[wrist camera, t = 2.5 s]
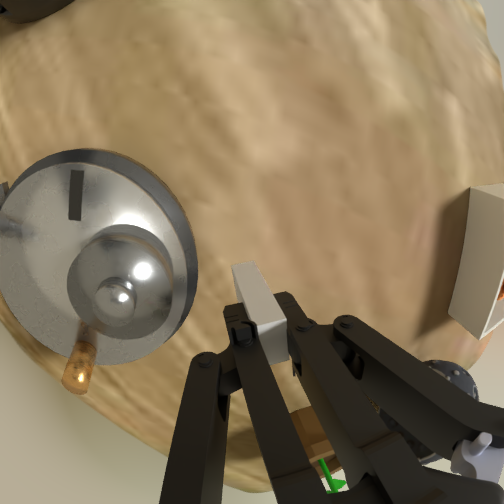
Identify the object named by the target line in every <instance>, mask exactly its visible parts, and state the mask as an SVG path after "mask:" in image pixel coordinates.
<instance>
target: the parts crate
mask: <svg viewBox="0 0 504 504" xmlns="http://www.w3.org/2000/svg"><path fill="white" fill-rule="evenodd" d="M503 279H504V183H500V184H492V185H483V186H475V187H470V198H469V209H468V218H467V225H466V232H465V239H464V245H463V251H462V256H461V261H460V266H459V270H458V275H457V279H456V283H455V288H454V291H453V295H452V299H451V303H450V306H449V310H448V314H449V315H450V316H451V317H452V318H454V319H455V320H456V321H457V322H458V323H460V324H461V325H462V326H463V327H464V328H465V329H466V330H468V331H469V332H470V333H471V334H472V335H473V336H474V337H476V338H477V339H478V340H480V339H482V338H483V337H484V336H485V335H487V334H488V333H489V332H491V331H492V330H493V329H494V328H495V327H497V326H498V325H499V324H500V323H501V322H503V321H504V298H503V299H501V300H497V298H498V295H499V292H500V288H501V285H502V282H503Z"/></svg>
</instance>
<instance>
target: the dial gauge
mask: <svg viewBox="0 0 504 504" xmlns="http://www.w3.org/2000/svg"><path fill="white" fill-rule="evenodd" d="M8 191H9V187H8V183H7V182H5V183H2V184H0V209H1V206H2V203H3V201H4V199H5V197H6V195H7V193H8Z"/></svg>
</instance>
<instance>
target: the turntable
mask: <svg viewBox="0 0 504 504" xmlns="http://www.w3.org/2000/svg"><path fill="white" fill-rule="evenodd" d="M115 224H132V225H136V226H139V227H142V228H144V229H146V230H148V231H150V232H151V233H153V234H154V235H155V236H156V237H158V238H159V239H160V240H161V241H162V243H163V244H164V245H165V247H166V248H167V250H168V252H169V254H170V256H171V259H172V263H173V271H174V274H173V292H172V306H171V310H170V313H169V316H168V317H167V319H166V321H165V322H164V323H163V325H162V326H161V327H160V328H159V329H158V330H156V331H155V332H153V333H152V334H150V335H148V336H145V337H142V338H138V339H131V340H122V339H115V338H111V337H108V336H105V335H103V334H101V333H98V332H97V331H95V330H93V329H92V328H91V327H89V326H88V325H87V324H86V323H85V322H83V321H82V319H81V318H80V317H79V316H78V315H77V313H76V312H75V310H74V308H73V307H72V305H71V302H70V300H69V296H68V292H67V275H68V271H69V268H70V266H71V264H72V262H73V261H74V259H75V258H76V257H77V255H78V254H79V253H80V251H81V250H82V249H83V248H84V247H85V245H86V244H87V243H88V242H89V240H90V239H91V238H92V237H93V236H94V235H95V234H96V233H97V232H99V231H100V230H102V229H103V228H105V227H108V226H111V225H115ZM0 290H1V292H2V295H3V297H4V299H5V301H6V303H7V305H8V306H9V308H10V310H11V311H12V313H13V314H14V316H15V317H16V318H17V320H18V321H19V322H20V324H21V325H22V326H23V327H24V328H25V329H26V330H27V331H28V332H29V333H30V334H31V335H32V336H33V337H34V338H35V339H37V340H38V341H39V342H41V343H42V344H43V345H45V346H46V347H48V348H49V349H51V350H53V351H54V352H56V353H58V354H60V355H63V356H65V357H67V358H69V360H68V363H67V365H66V368H65V371H64V374H63V377H62V380H61V381H62V384H63V386H64V387H65V388H66V389H67V390H68V391H70V392H72V393H74V394H78V395H83V394H85V393H86V392H87V390H88V386H89V382H90V378H91V374H92V370H93V367H94V364H95V365H116V364H123V363H127V362H132V361H134V360H137V359H140V358H142V357H144V356H146V355H148V354H150V353H151V352H153V351H154V350H156V349H157V348H158V347H160V346H161V345H162V344H163V343H164V342H165V341H166V340H167V339H168V338H169V336H170V335H171V334H172V332H173V331H174V330H175V328H176V326H177V324H178V322H179V320H180V318H181V315H182V313H183V310H184V306H185V301H186V296H187V268H186V259H185V254H184V250H183V246H182V243H181V240H180V237H179V235H178V232H177V230H176V228H175V226H174V224H173V222H172V220H171V218H170V217H169V215H168V214H167V213H166V211H165V210H164V208H163V207H162V205H161V204H160V203H159V202H158V201H157V200H156V199H155V197H154V196H153V195H152V194H151V193H150V192H149V191H148V190H146V189H145V188H144V187H143V186H142V185H141V184H140V183H138V182H137V181H135V180H134V179H132V178H131V177H129V176H128V175H126V174H124V173H122V172H120V171H118V170H115V169H113V168H110V167H107V166H104V165H101V164H96V163H90V162H68V163H62V164H57V165H54V166H50V167H48V168H45V169H42V170H40V171H37V172H36V173H34V174H32V175H31V176H29V177H27V178H26V179H25V180H24V181H22V182H21V183H20V184H19V185H18V186H17V187H16V188H15V189H14V190H13V191H12V193H11V194H10V195H9V196H8V198H7V200H6V201H5V203H4V205H3V206H2V209H1V211H0Z"/></svg>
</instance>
